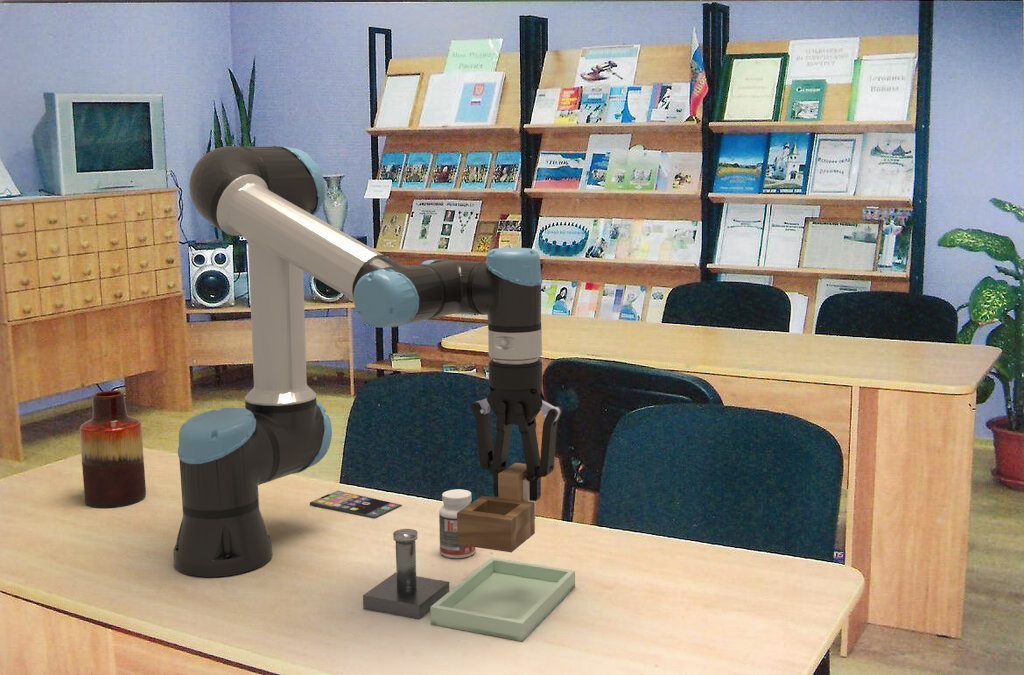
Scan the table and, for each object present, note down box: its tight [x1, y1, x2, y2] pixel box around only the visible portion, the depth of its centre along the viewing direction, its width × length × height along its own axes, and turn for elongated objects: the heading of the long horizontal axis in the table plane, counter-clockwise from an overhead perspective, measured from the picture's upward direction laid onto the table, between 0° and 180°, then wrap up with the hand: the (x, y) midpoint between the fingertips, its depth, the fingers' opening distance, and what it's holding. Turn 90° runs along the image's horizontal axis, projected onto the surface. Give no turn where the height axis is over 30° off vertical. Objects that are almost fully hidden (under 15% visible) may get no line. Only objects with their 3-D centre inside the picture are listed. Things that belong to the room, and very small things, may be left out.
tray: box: [430, 557, 576, 642], centre depth 151 cm, size 14×20×2 cm
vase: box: [79, 390, 147, 509], centre depth 198 cm, size 11×11×20 cm
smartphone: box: [309, 490, 403, 520], centre depth 195 cm, size 8×15×1 cm, turn 60°
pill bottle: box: [438, 488, 476, 559], centre depth 170 cm, size 6×6×10 cm
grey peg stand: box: [362, 528, 450, 620], centre depth 151 cm, size 9×9×10 cm
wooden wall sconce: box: [457, 462, 536, 553], centre depth 148 cm, size 14×8×8 cm, turn 156°
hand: (517, 519), depth 153 cm, fingers closed on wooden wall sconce, 3 cm apart
